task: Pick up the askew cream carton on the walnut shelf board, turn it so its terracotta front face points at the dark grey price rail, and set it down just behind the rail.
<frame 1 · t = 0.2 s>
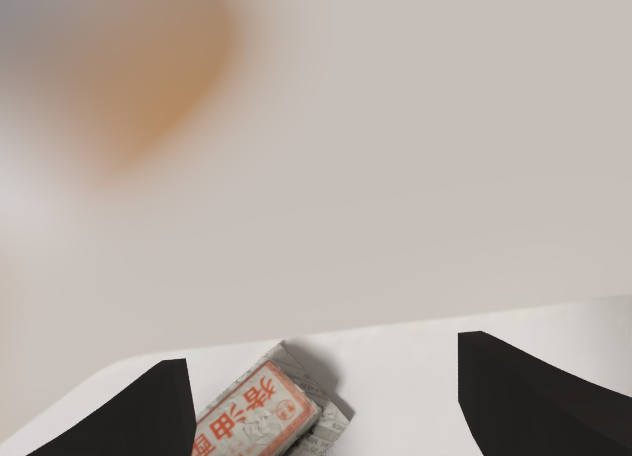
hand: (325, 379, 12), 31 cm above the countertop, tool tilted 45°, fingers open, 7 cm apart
packaged product: (239, 455, 40), on the countertop
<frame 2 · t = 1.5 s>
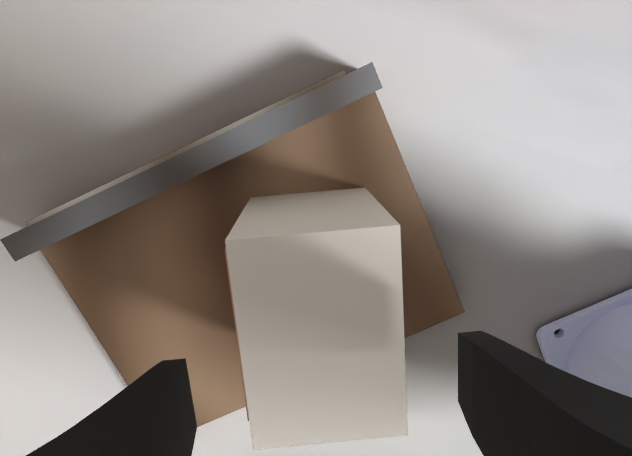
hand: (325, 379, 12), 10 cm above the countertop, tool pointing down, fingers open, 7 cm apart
carton: (259, 273, 20), point 1 cm above the countertop, touching shelf
shelf: (257, 263, 22), on the countertop
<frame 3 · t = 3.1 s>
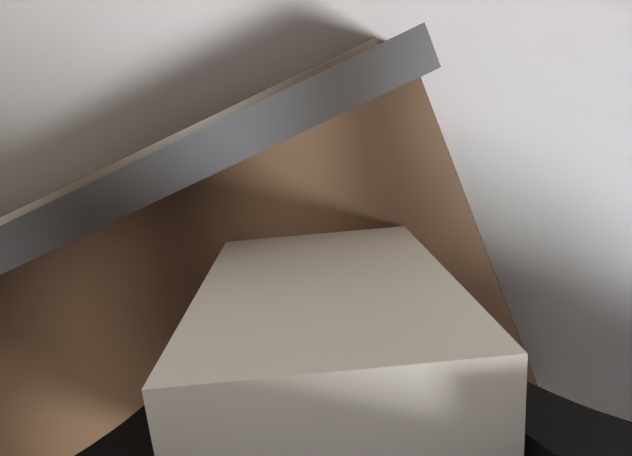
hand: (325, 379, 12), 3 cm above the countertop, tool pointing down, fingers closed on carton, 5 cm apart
carton: (241, 354, 13), point 1 cm above the countertop, touching gripper, shelf
shelf: (237, 334, 15), on the countertop
when the fingers open (4 cm above the countertop, at t = 7.7 s): carton stays where it is, resting on shelf.
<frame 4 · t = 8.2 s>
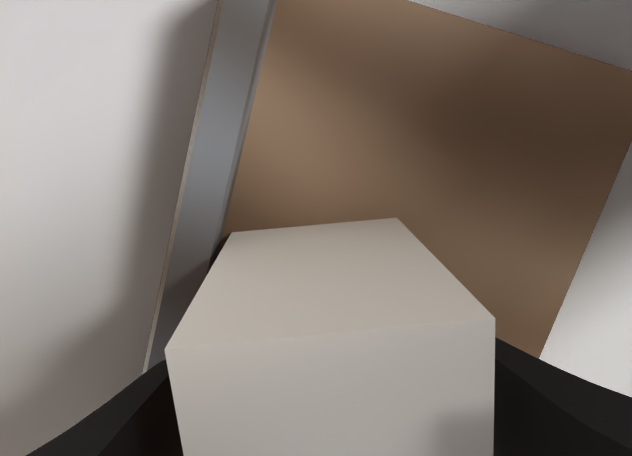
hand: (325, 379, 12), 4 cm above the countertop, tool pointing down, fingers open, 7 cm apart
carton: (245, 338, 14), point 1 cm above the countertop, touching shelf
shelf: (371, 271, 15), on the countertop
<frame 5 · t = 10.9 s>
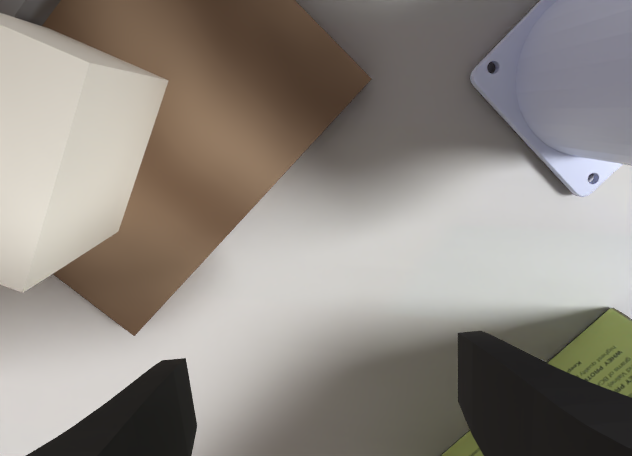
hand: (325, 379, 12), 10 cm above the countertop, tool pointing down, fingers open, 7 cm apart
carton: (26, 111, 19), point 1 cm above the countertop, touching shelf
protein box: (557, 452, 25), on the countertop
shelf: (146, 120, 20), on the countertop
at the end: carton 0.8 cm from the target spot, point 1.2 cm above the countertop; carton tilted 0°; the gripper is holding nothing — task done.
